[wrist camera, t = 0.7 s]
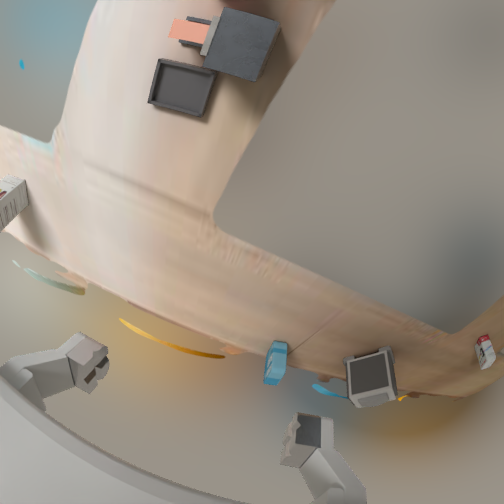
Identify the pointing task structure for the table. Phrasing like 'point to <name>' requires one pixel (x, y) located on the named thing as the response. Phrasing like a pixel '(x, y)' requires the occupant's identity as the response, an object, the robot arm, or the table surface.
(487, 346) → the ink box
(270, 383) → the data package
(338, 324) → the table surface
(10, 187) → the supplement box
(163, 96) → the tray
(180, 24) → the salmon pink tall block
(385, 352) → the alarm clock
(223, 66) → the dispenser
